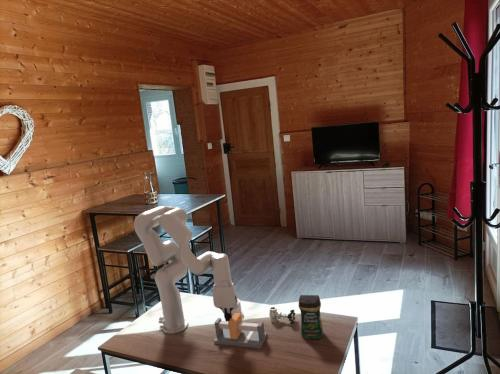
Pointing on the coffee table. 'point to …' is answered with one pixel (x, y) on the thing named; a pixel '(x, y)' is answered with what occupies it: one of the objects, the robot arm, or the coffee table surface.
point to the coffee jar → (310, 317)
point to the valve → (280, 315)
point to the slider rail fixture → (249, 336)
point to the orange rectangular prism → (234, 326)
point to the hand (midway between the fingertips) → (228, 319)
